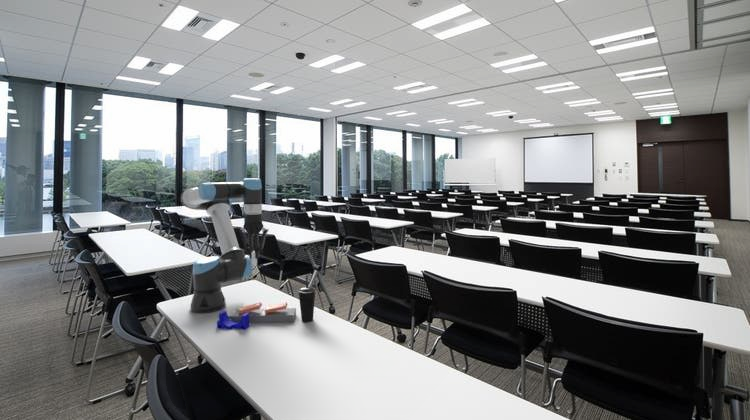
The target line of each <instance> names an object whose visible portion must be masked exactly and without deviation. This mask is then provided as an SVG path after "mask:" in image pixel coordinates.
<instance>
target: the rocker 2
mask: <svg viewBox="0 0 750 420" xmlns="http://www.w3.org/2000/svg"><path fill="white" fill-rule="evenodd" d="M286 308H288V302H287V301H286V302H282V303H277V304H272V305H268V306H266V307H265V308H264V309H265V313H269V312H274V311H278V310H283V309H286Z"/></svg>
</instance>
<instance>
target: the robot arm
mask: <svg viewBox="0 0 750 420" xmlns="http://www.w3.org/2000/svg"><path fill="white" fill-rule="evenodd" d="M262 187H263V186H262V180H261V179H260V178H259V177H258V178H257V177H256V178H254V177H253V178H252V177H251V178H249V177H247V178H244V179H243V181H233V182H232V181H230V182H227V181H225V182H211V181H210V182H201V183H200V184H199V186H198V187H191V188H188V189H185V190H183V191H182V193H181V195H180V202H181V204H182V205H183V206H184V207H186V208H188V209H190V210H195V211H197V210H198V211H201V210H205V211H206V213H207V215H209V216H210V217H211V221H212V223H213V227H214V230H215V235H216V237H217V241H218V244H219V247H220V251H221V255H220V256H217V255H216V256H215V255H213V256H206V257H202V258H200V259H198V260H196V261H195V262H194V263H193V264H192V276H193V281H192V282H193V296H192V299H191V303H190V305H189V307H190V311H191V312H192V313H197V314H207V313H212V312H216V311H219V310H223V308H225V307H226V302H227V301H226V298H225V295H224V293H223V290H222V284H225V283H230V282H235V281H242V280H244V279H248V278H249V277H250V276H251V274H252V270H253V267H257V266H258V260H259V258H260V252H261V251H262V250H263V249H264V246H265V243H266V238H267V234H268V232H269V231H270V229H269V228H266V227H264V223H263V214H262V212H263V206H262V205H263V204H262V202H263V201H262V198H263V196H262V192H263V191H262V189H263V188H262ZM241 199H242V200H243V213H244V215H243V220H244V221H243V222H244V224H243V225H242V227H240V228H239V229H237V230H238V233H239V234H240V237H241V241H242V245H243V247H244V250H243V249H242V248H240V246H239V243H238V238H237V235H236V233H235V230H234V226H233V224H232V219H231V217H230V213H229V210H230V208H231V207H232V201H233V200H241ZM261 232H262V233H261ZM246 233H247V234H246ZM260 233H261V238H260ZM247 236H248V237H247ZM245 251H248V253H249V254H246V253H245Z"/></svg>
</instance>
